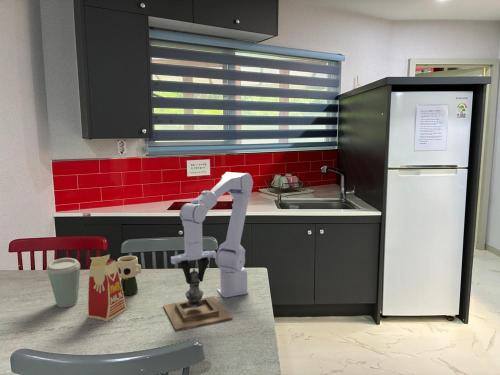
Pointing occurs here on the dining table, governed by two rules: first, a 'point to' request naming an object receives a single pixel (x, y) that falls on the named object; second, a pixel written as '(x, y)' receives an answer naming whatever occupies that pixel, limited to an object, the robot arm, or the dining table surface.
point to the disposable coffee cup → (64, 280)
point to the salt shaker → (194, 291)
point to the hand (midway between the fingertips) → (194, 281)
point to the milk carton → (104, 289)
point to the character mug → (128, 273)
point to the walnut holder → (196, 313)
